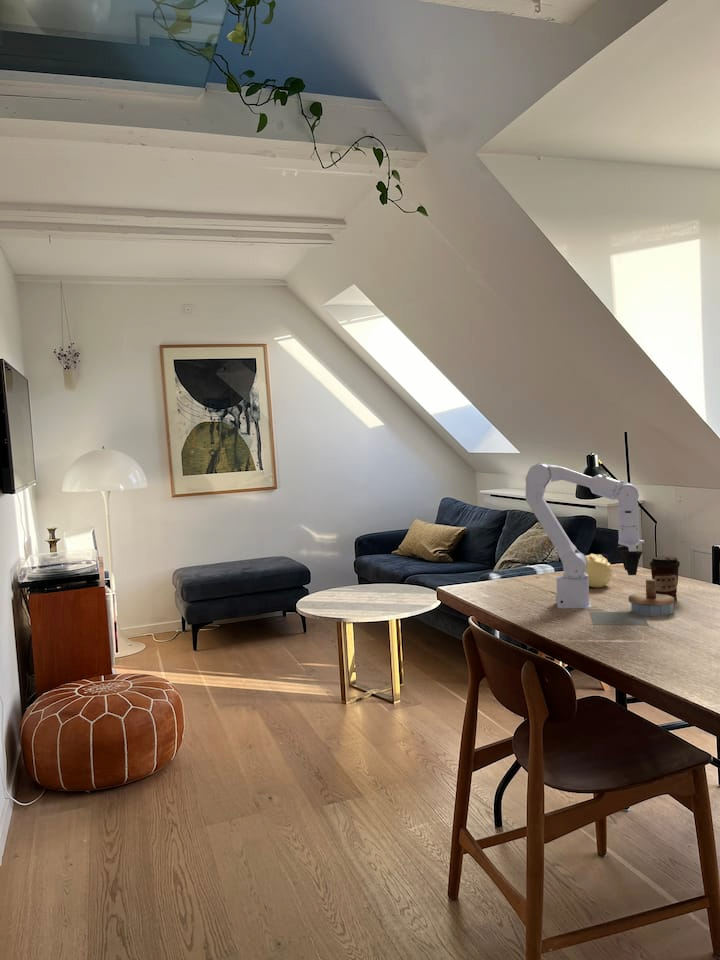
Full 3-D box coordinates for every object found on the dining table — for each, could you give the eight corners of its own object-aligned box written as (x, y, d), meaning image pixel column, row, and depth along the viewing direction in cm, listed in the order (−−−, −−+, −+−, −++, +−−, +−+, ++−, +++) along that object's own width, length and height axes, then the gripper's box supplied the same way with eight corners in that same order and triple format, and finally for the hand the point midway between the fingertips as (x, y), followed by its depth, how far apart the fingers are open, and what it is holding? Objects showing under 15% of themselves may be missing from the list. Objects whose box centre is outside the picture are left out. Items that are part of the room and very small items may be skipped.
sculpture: (612, 590, 247) (611, 556, 246) (573, 589, 251) (572, 556, 250) (612, 582, 258) (611, 550, 257) (575, 582, 261) (574, 550, 261)
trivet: (593, 626, 204) (593, 624, 204) (589, 613, 218) (589, 611, 218) (648, 626, 201) (648, 625, 201) (641, 613, 215) (641, 612, 215)
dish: (634, 617, 211) (633, 605, 211) (629, 608, 222) (628, 596, 222) (676, 618, 209) (676, 605, 208) (669, 608, 219) (669, 596, 219)
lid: (633, 606, 210) (632, 585, 210) (624, 596, 222) (624, 576, 221) (679, 605, 208) (678, 584, 208) (668, 595, 220) (667, 575, 220)
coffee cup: (683, 604, 223) (682, 560, 223) (653, 604, 225) (652, 560, 224) (677, 597, 232) (676, 555, 231) (648, 597, 234) (647, 555, 233)
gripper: (647, 528, 213) (648, 577, 213) (639, 522, 227) (641, 567, 228) (620, 529, 214) (622, 577, 215) (614, 522, 228) (616, 567, 229)
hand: (630, 572), depth 221 cm, fingers open, 7 cm apart
